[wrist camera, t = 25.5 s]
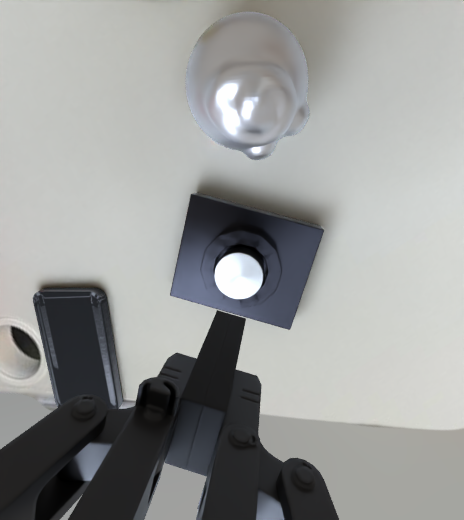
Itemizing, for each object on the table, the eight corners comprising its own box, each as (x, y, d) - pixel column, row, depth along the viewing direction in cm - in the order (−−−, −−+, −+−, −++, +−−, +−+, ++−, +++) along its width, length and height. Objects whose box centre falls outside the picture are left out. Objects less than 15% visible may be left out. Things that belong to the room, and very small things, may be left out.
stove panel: (320, 225, 30) (327, 233, 26) (289, 320, 33) (290, 339, 29) (196, 192, 31) (185, 195, 27) (176, 287, 34) (163, 302, 30)
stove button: (269, 253, 28) (268, 260, 26) (257, 295, 29) (255, 305, 27) (224, 241, 28) (220, 246, 26) (213, 283, 29) (209, 291, 27)
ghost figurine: (201, 160, 30) (166, 156, 20) (199, 42, 27) (159, -26, 18) (301, 161, 29) (314, 158, 19) (309, 39, 26) (330, -36, 17)
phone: (99, 291, 33) (119, 414, 37) (105, 287, 34) (123, 407, 38) (29, 291, 34) (56, 410, 38) (37, 287, 35) (62, 404, 39)
